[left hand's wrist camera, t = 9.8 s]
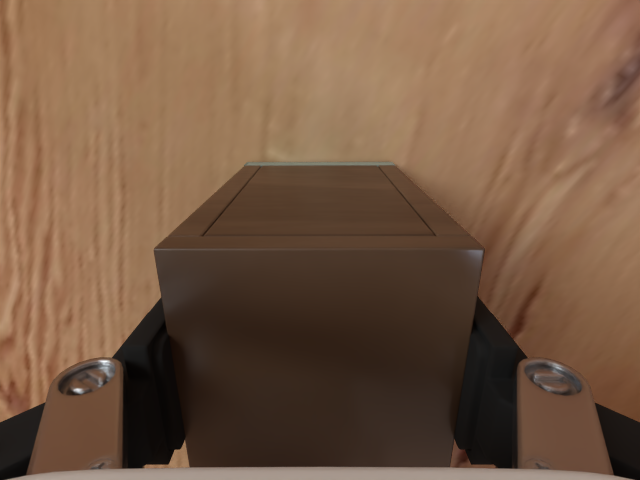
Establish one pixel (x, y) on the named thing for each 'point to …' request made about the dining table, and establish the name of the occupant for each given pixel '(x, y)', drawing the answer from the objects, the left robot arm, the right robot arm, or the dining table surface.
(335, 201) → the cabinet
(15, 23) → the dining table surface
